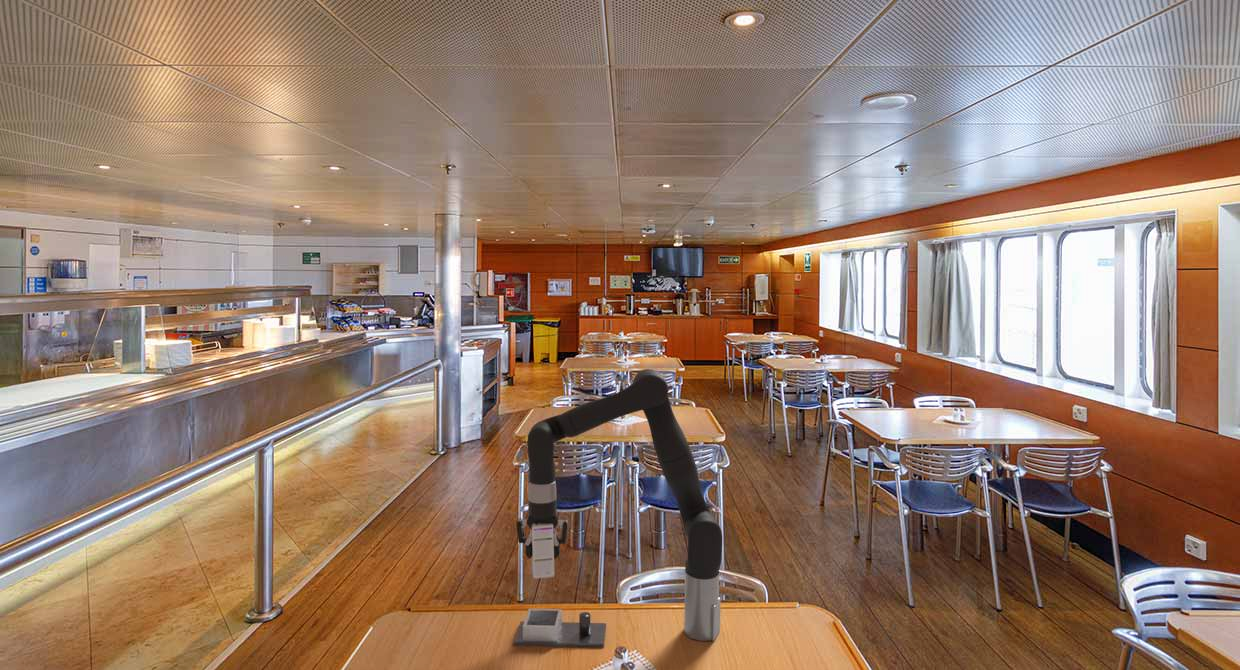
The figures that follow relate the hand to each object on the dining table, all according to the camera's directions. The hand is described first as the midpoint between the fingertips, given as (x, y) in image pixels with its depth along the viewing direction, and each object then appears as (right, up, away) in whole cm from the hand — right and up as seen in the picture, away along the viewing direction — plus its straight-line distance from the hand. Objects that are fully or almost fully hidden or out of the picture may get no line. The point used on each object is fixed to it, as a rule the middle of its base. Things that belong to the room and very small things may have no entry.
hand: (542, 557), depth 169 cm
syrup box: (0, -5, +1) cm, 5 cm away
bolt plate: (+5, -22, +2) cm, 22 cm away
